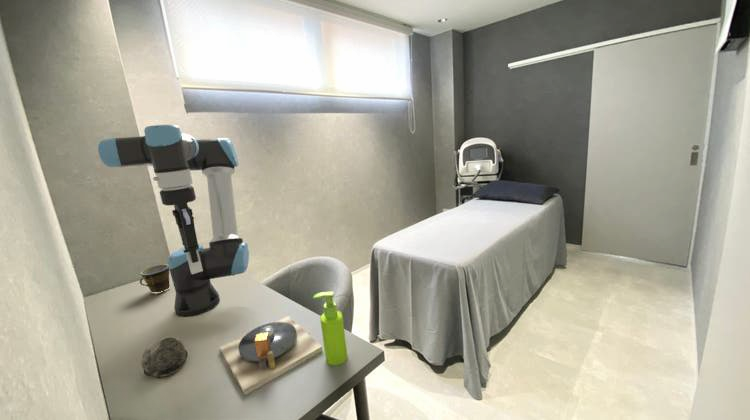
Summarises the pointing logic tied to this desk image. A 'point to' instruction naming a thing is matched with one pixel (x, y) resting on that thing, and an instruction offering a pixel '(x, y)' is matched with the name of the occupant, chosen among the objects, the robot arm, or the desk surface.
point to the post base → (282, 363)
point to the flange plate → (276, 344)
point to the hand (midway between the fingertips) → (196, 271)
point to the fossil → (164, 358)
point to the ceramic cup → (156, 277)
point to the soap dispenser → (332, 330)
